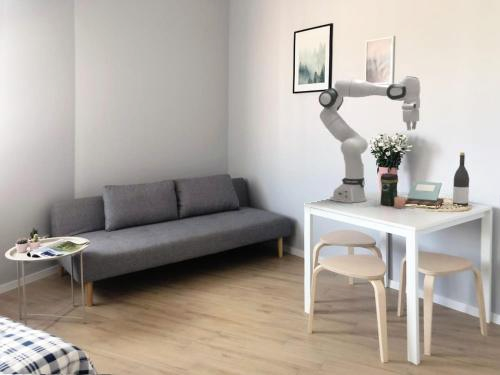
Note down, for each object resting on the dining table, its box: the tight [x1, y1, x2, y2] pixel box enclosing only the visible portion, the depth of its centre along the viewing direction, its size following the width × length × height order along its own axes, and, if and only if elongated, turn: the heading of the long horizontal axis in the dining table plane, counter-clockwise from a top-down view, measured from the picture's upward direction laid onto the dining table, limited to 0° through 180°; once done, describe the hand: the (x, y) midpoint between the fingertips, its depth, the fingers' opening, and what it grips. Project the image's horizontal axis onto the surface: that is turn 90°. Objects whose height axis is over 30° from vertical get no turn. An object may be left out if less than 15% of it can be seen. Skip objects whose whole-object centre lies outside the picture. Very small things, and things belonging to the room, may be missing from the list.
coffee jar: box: [380, 172, 399, 207], centre depth 272 cm, size 10×8×19 cm
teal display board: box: [406, 181, 443, 202], centre depth 268 cm, size 16×14×1 cm
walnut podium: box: [405, 197, 445, 207], centre depth 268 cm, size 18×16×8 cm
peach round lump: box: [393, 196, 406, 210], centre depth 263 cm, size 6×6×6 cm
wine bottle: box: [452, 151, 470, 207], centre depth 263 cm, size 8×8×30 cm
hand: (411, 129), depth 267 cm, fingers open, 8 cm apart
